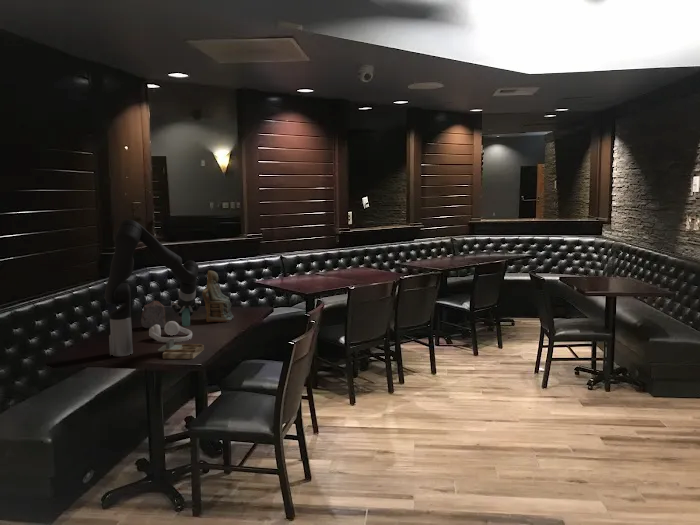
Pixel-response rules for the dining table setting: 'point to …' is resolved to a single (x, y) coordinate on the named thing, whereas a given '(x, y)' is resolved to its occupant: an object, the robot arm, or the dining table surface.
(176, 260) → the robot arm
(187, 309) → the peg
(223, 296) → the sculpture
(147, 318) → the rock
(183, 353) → the board
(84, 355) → the dining table surface
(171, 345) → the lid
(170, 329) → the headphones
